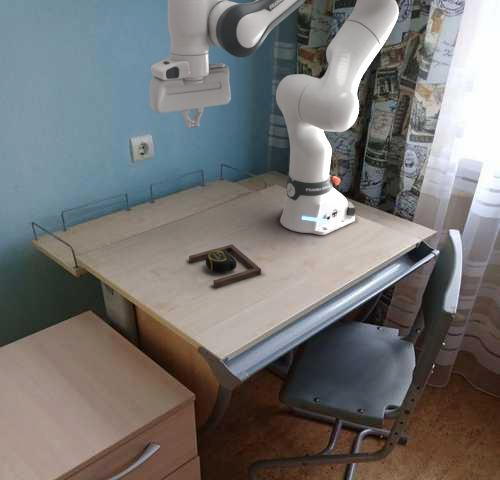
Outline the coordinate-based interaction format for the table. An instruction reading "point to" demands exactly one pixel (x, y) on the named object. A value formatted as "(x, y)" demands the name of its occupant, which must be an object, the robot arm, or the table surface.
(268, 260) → the table surface
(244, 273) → the bay
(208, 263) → the tape measure
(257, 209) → the table surface
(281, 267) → the table surface
